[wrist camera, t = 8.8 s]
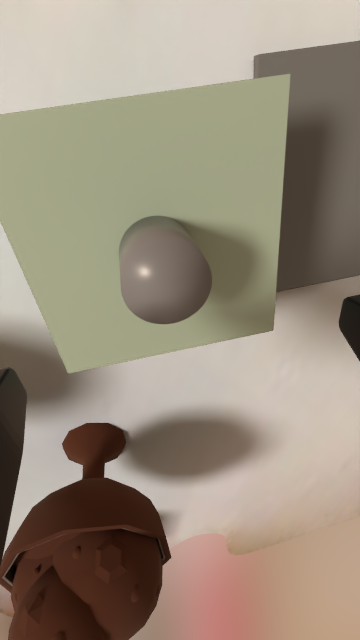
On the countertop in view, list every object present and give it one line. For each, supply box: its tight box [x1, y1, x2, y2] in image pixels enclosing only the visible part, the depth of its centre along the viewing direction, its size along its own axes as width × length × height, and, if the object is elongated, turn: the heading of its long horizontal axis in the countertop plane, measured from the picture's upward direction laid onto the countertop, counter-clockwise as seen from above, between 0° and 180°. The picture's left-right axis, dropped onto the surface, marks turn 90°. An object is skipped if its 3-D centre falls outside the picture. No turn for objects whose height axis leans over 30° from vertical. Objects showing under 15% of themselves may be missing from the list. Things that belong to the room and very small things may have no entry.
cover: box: [0, 74, 290, 374], centre depth 12 cm, size 11×11×4 cm
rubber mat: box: [254, 41, 360, 292], centre depth 19 cm, size 13×13×1 cm
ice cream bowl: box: [0, 423, 171, 640], centre depth 22 cm, size 11×11×15 cm
